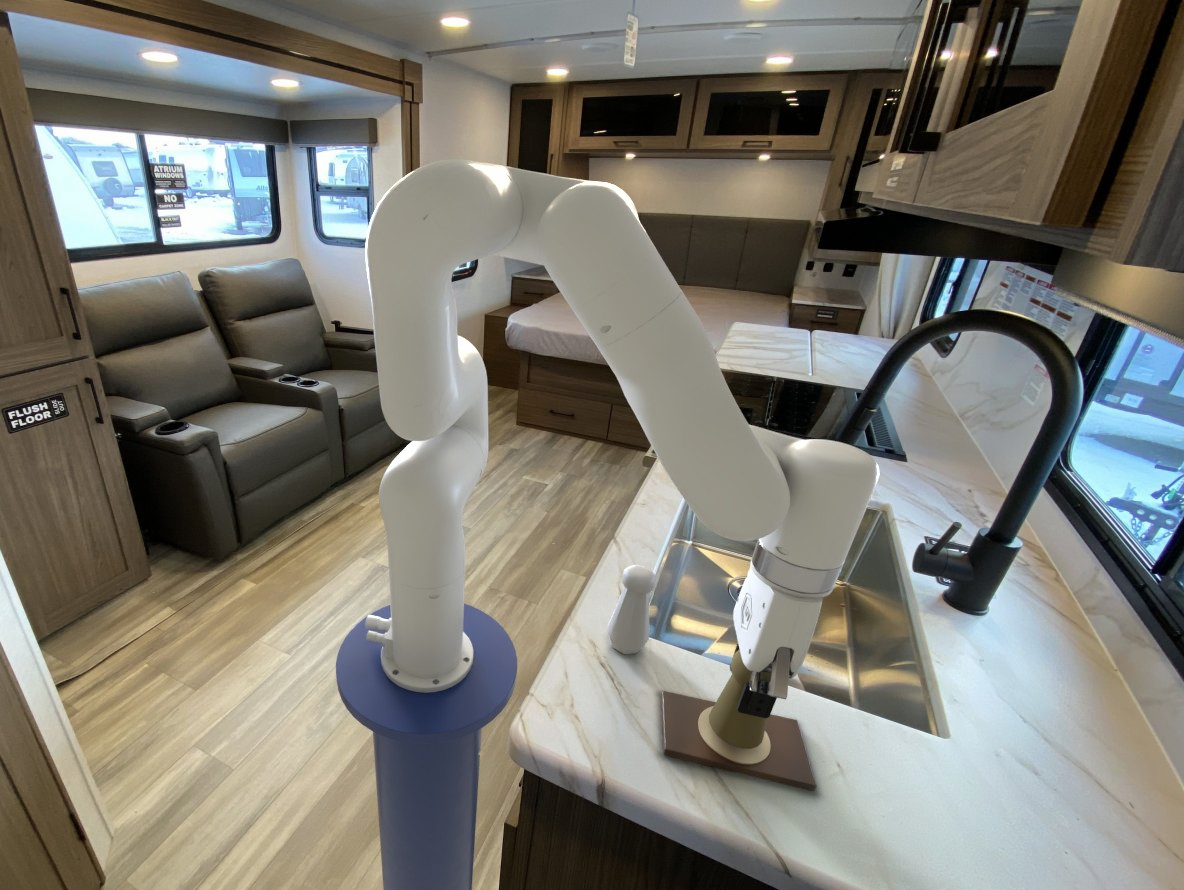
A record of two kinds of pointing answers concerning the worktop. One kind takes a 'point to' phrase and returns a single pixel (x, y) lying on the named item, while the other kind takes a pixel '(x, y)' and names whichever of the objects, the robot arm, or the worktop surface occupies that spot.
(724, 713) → the pepper shaker
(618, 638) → the salt shaker
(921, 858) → the worktop surface
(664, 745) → the serving board
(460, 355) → the robot arm
